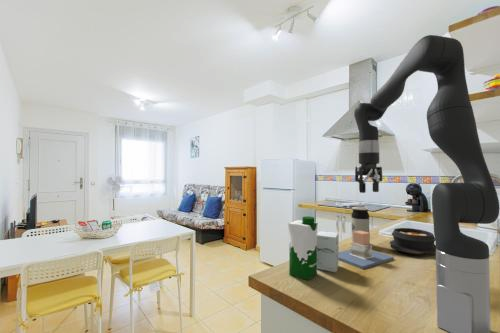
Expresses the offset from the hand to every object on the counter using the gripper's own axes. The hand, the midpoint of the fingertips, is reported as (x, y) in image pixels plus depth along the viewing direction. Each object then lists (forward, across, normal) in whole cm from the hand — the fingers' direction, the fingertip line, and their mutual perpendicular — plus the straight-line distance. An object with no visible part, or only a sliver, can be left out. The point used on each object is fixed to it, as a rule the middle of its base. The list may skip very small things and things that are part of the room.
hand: (369, 192), depth 97 cm
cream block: (+26, 0, +4) cm, 27 cm away
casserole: (+28, +30, -1) cm, 41 cm away
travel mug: (+28, +16, +16) cm, 36 cm away
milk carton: (+28, -32, +4) cm, 42 cm away
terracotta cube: (+21, 0, +4) cm, 22 cm away
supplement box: (+28, -20, +4) cm, 34 cm away
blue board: (+28, 0, +4) cm, 28 cm away
